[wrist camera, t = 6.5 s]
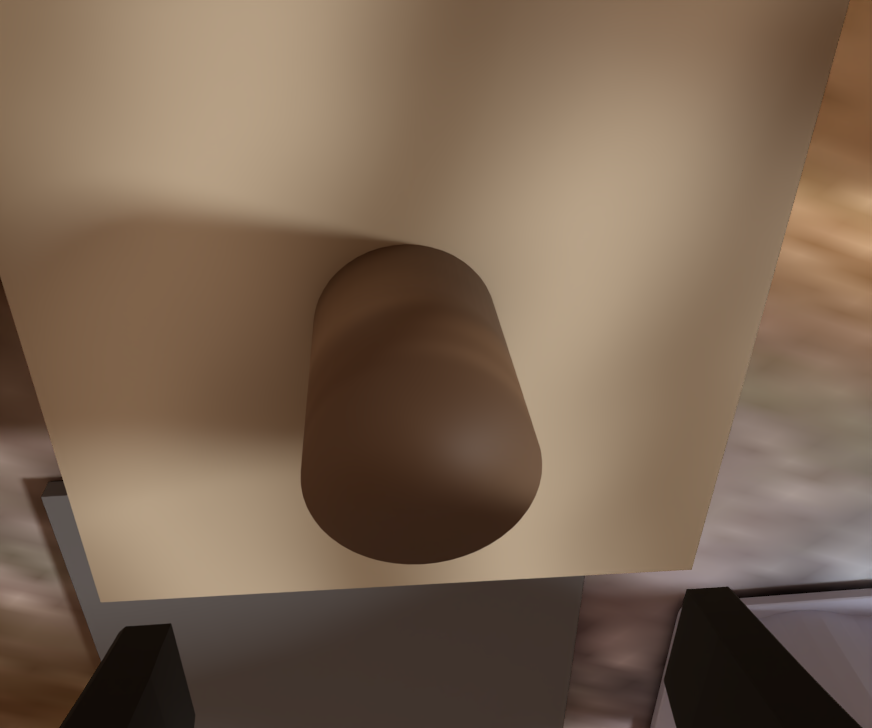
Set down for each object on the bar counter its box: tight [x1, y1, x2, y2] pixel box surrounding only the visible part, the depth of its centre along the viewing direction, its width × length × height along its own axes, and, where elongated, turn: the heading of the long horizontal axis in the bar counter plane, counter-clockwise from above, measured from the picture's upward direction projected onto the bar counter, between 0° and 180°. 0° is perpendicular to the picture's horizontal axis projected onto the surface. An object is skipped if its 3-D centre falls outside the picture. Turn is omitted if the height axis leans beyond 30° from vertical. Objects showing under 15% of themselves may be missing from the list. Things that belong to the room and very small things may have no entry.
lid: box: [0, 0, 850, 602], centre depth 12 cm, size 13×13×5 cm
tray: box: [41, 481, 585, 728], centre depth 25 cm, size 15×15×1 cm
